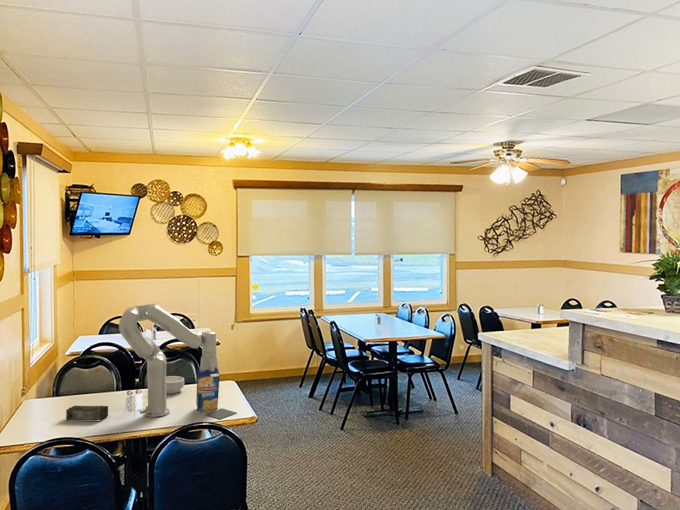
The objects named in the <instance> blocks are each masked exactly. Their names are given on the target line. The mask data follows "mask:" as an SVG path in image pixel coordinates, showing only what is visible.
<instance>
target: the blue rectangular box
mask: <svg viewBox="0 0 680 510" xmlns="http://www.w3.org/2000/svg"><path fill="white" fill-rule="evenodd" d="M196 374H197V377H196V397H195V398H196V399H195V402H196V411H197V412H200V411H199V410H203V411H209V410H208V409H212V410H218V409H217V408H219V407H218V406H219V405H218V404H219V393H220V392H219V391H220V390H219V389H220V375H221V374H220V371H219V368H218V369H215V371H213V372H211V371H210V370H200V369H199V370H197V373H196Z"/></svg>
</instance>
